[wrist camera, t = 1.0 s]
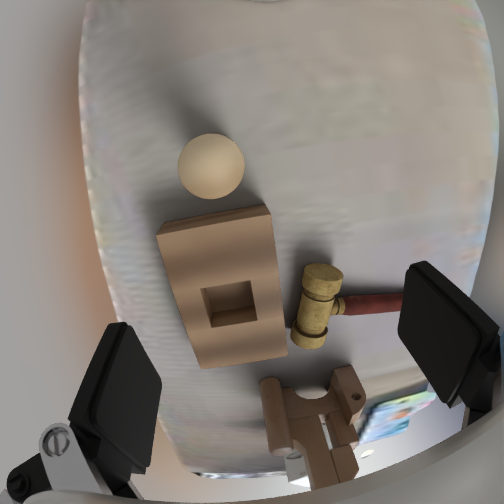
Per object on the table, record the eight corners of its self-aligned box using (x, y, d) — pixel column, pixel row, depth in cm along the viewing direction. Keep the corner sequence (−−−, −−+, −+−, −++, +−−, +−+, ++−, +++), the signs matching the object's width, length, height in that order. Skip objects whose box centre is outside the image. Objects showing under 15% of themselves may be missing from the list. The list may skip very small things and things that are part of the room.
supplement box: (310, 414, 46) (325, 469, 34) (326, 425, 48) (341, 475, 37) (277, 429, 47) (287, 483, 35) (295, 439, 50) (306, 488, 38)
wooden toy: (354, 363, 41) (414, 494, 18) (346, 388, 44) (393, 508, 21) (259, 376, 40) (283, 532, 17) (259, 401, 43) (279, 538, 20)
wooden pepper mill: (193, 138, 26) (170, 140, 15) (234, 131, 26) (239, 126, 15) (201, 177, 28) (184, 205, 17) (241, 170, 28) (250, 193, 17)
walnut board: (164, 222, 29) (155, 235, 26) (265, 204, 30) (270, 214, 26) (202, 348, 37) (201, 369, 33) (282, 335, 37) (288, 355, 33)
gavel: (444, 277, 33) (420, 334, 36) (425, 263, 37) (405, 318, 41) (312, 280, 29) (295, 351, 33) (299, 261, 33) (286, 328, 37)
